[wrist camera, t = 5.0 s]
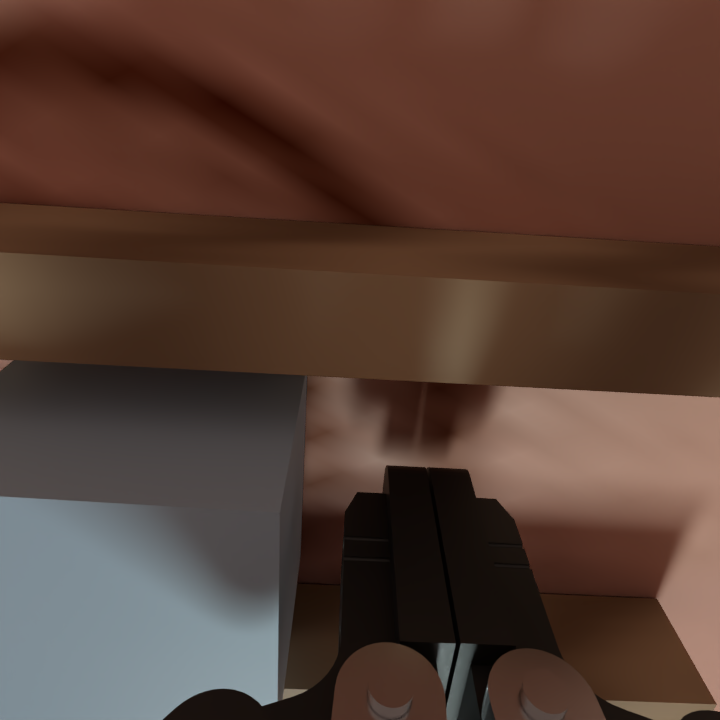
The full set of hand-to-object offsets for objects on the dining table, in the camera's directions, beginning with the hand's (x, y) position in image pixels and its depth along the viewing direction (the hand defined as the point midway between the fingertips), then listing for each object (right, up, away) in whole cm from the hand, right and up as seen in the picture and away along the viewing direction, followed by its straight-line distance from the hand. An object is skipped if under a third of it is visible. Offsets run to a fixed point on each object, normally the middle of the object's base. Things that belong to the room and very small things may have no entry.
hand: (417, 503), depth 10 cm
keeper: (-5, +1, +1) cm, 5 cm away
